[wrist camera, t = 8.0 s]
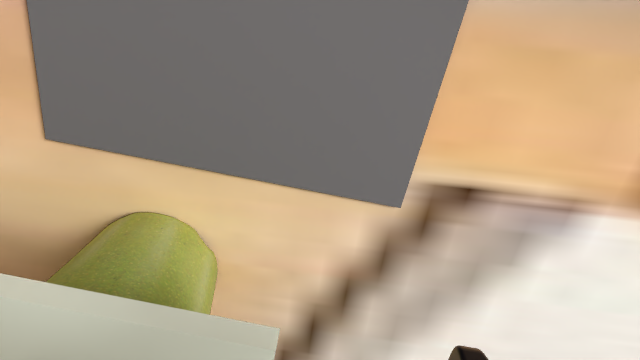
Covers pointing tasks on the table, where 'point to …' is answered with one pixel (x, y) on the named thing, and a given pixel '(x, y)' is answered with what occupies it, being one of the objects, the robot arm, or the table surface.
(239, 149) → the gray flat panel
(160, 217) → the plant pot
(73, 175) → the table surface
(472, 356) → the robot arm
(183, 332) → the sage lid
